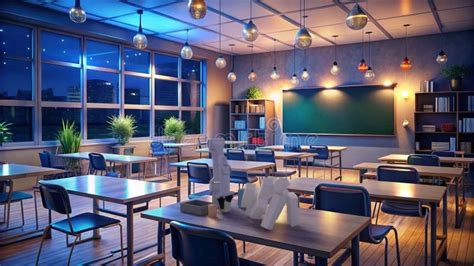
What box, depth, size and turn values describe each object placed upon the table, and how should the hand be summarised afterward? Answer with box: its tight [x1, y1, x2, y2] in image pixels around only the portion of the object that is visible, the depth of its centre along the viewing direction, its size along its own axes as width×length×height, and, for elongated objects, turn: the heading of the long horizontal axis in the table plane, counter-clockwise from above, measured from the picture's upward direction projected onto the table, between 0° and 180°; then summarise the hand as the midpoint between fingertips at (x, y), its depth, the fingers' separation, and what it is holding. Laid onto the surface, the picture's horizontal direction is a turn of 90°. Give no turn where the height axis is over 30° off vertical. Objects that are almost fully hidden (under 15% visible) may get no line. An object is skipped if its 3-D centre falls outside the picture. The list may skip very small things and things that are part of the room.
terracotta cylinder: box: [207, 204, 218, 219], centre depth 214 cm, size 5×5×7 cm
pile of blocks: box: [241, 175, 300, 231], centre depth 198 cm, size 35×30×35 cm
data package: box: [237, 187, 246, 210], centre depth 235 cm, size 12×4×12 cm, turn 50°
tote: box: [179, 199, 217, 217], centre depth 227 cm, size 14×18×5 cm
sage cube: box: [218, 201, 232, 213], centre depth 223 cm, size 5×5×5 cm
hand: (225, 208), depth 223 cm, fingers closed on sage cube, 5 cm apart
